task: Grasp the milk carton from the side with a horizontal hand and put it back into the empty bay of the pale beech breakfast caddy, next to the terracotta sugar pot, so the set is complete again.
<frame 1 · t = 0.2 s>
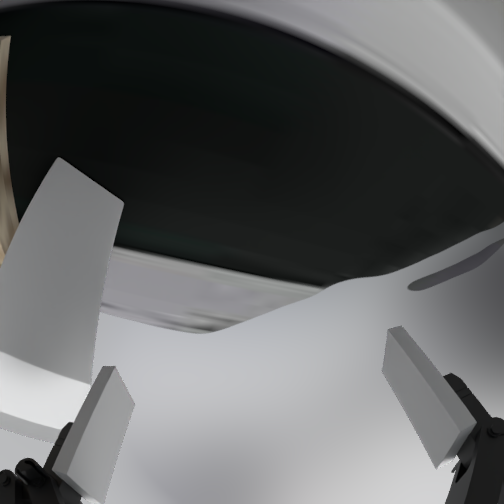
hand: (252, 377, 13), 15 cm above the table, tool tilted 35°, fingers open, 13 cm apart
milk carton: (73, 200, 22), on the table
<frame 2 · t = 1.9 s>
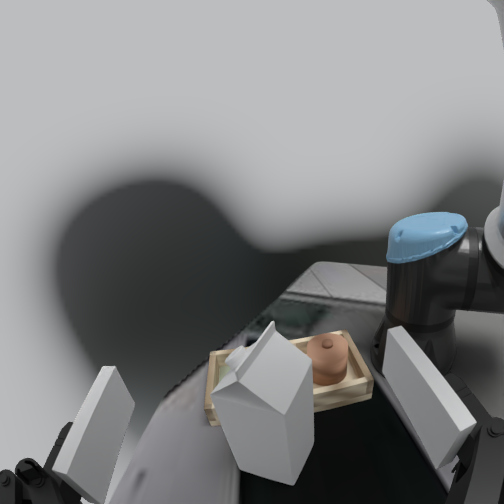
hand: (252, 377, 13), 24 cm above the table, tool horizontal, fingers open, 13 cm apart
milk carton: (278, 458, 30), on the table
caddy: (286, 385, 42), on the table
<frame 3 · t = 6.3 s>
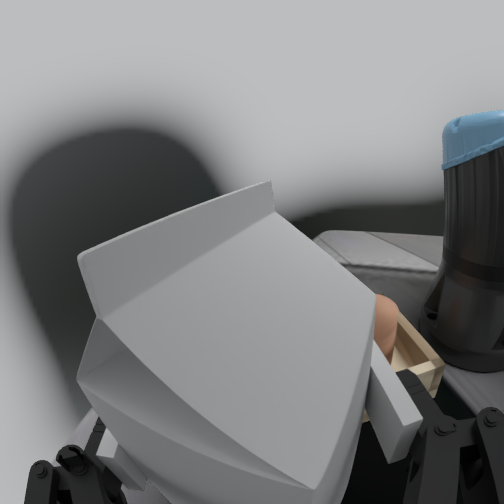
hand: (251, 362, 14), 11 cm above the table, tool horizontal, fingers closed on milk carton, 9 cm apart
caddy: (294, 382, 25), on the table
when the fingers open (13 cm above the table, at t = 11.5 s): milk carton drops 1 cm, resting on caddy.
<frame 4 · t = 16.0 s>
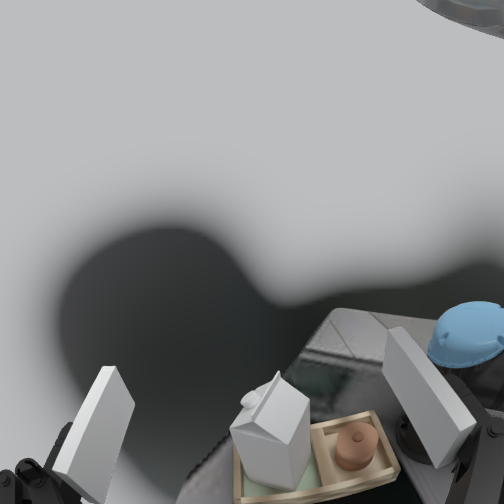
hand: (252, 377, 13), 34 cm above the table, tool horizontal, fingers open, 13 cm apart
milk carton: (280, 471, 35), point 1 cm above the table, touching caddy
caddy: (312, 468, 35), on the table
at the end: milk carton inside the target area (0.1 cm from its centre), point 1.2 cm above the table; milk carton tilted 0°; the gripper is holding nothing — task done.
